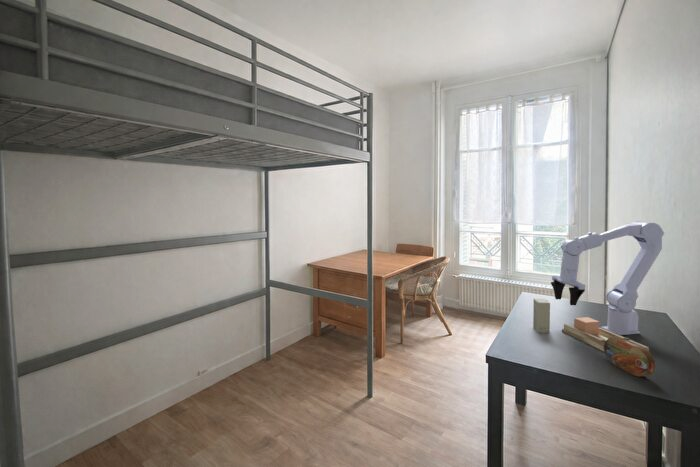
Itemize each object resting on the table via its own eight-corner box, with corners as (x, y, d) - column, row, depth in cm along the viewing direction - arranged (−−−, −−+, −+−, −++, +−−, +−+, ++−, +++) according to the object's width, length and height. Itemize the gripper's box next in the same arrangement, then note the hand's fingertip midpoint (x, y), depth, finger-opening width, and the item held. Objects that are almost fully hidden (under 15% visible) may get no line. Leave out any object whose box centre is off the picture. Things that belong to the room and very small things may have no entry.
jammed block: (587, 329, 132) (587, 317, 132) (598, 334, 127) (599, 321, 127) (573, 330, 131) (574, 318, 131) (584, 335, 126) (585, 322, 126)
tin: (602, 358, 111) (603, 333, 110) (611, 357, 111) (612, 333, 110) (646, 382, 96) (648, 354, 95) (656, 381, 96) (658, 353, 95)
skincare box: (549, 333, 132) (551, 303, 130) (537, 332, 132) (538, 302, 131) (543, 327, 138) (545, 298, 137) (532, 326, 139) (533, 298, 138)
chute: (587, 329, 135) (588, 321, 135) (650, 355, 112) (651, 346, 111) (561, 331, 133) (562, 323, 133) (619, 358, 110) (620, 349, 109)
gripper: (547, 265, 142) (543, 296, 143) (575, 273, 128) (571, 307, 129) (561, 265, 143) (558, 296, 145) (591, 273, 129) (587, 307, 130)
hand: (565, 302), depth 137 cm, fingers open, 7 cm apart
